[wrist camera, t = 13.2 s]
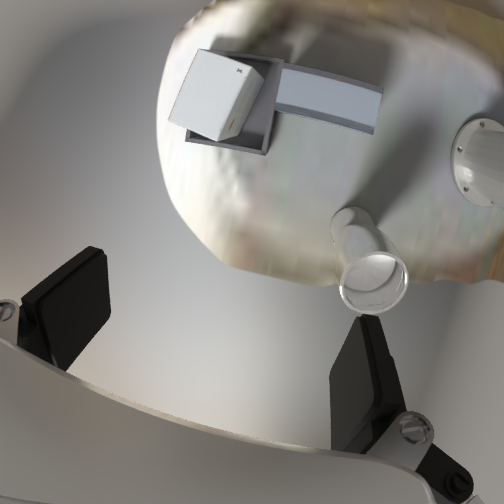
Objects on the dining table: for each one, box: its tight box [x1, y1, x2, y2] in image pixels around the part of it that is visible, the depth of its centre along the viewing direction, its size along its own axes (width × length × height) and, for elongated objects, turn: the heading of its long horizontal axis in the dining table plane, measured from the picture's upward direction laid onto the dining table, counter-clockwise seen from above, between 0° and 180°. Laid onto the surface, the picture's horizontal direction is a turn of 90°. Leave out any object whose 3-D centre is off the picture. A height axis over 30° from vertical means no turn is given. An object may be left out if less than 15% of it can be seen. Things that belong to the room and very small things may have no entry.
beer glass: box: [330, 207, 408, 314], centre depth 33 cm, size 7×7×15 cm
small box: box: [168, 49, 265, 141], centre depth 30 cm, size 8×6×10 cm
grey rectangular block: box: [274, 63, 384, 135], centre depth 30 cm, size 10×5×8 cm, turn 80°
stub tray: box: [185, 49, 285, 155], centre depth 34 cm, size 10×12×2 cm
